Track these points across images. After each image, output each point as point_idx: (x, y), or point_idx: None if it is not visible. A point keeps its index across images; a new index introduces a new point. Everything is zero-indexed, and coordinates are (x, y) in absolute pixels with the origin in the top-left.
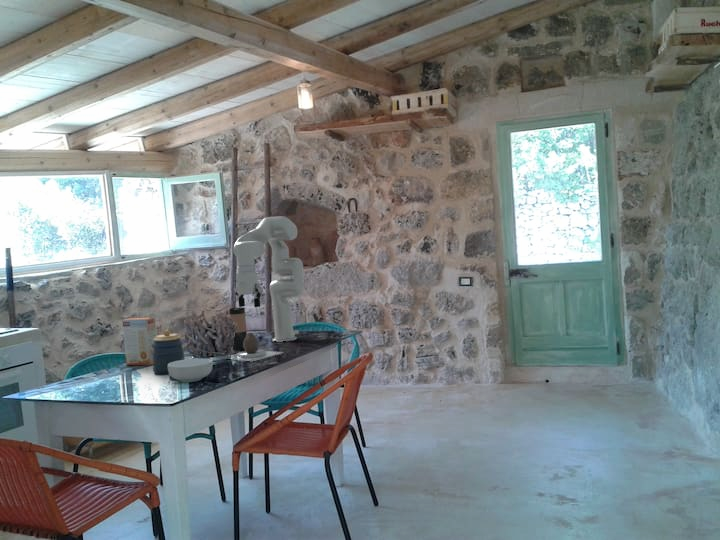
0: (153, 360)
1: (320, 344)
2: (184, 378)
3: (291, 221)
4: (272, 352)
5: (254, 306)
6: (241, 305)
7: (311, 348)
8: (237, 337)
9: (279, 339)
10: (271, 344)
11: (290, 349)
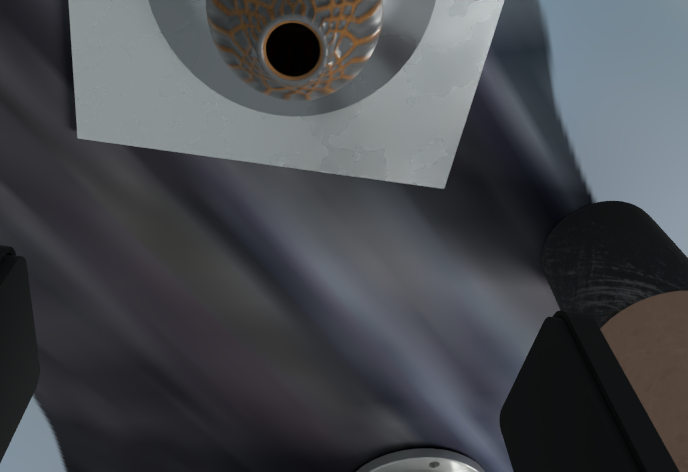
0: None
1: (66, 423)
2: None
3: None
4: (167, 113)
5: (13, 259)
6: (543, 361)
7: None
8: (628, 267)
9: (419, 469)
10: (427, 394)
11: (151, 275)
